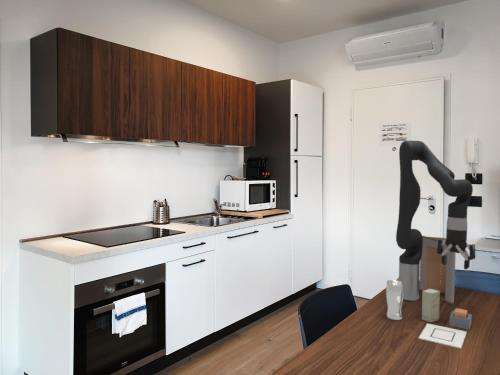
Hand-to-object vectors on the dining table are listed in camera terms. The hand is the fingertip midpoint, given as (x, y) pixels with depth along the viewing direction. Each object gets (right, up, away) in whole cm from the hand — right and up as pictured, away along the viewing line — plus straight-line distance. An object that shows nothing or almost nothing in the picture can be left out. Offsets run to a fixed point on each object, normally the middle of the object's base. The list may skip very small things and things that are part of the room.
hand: (455, 266), depth 165 cm
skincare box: (-10, -22, +1) cm, 24 cm away
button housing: (0, -22, -5) cm, 23 cm away
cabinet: (+10, -20, +31) cm, 38 cm away
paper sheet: (-12, -23, -15) cm, 30 cm away
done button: (0, -19, -5) cm, 20 cm away
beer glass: (-24, -22, +3) cm, 33 cm away
